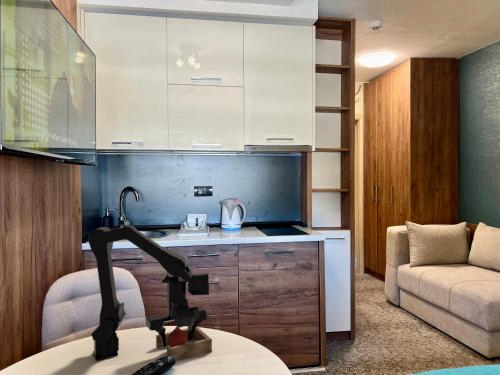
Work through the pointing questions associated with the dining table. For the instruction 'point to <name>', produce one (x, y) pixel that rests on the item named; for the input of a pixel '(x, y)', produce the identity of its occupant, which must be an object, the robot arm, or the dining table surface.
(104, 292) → the robot arm
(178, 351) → the ball
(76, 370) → the dining table surface
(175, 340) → the onion
